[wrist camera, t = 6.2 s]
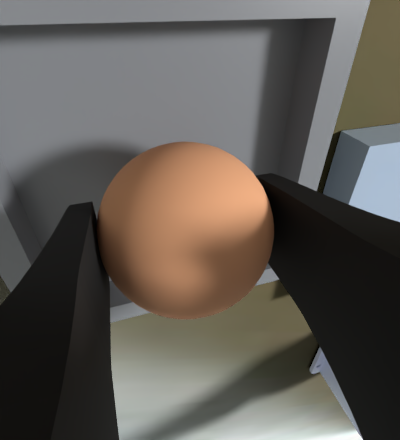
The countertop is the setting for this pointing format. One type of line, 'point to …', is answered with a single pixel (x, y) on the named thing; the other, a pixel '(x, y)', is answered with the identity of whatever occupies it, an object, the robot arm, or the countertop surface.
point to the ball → (185, 230)
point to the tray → (159, 98)
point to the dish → (367, 170)
